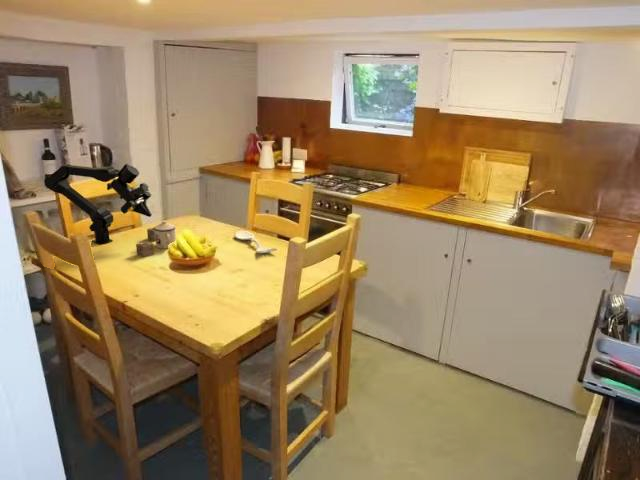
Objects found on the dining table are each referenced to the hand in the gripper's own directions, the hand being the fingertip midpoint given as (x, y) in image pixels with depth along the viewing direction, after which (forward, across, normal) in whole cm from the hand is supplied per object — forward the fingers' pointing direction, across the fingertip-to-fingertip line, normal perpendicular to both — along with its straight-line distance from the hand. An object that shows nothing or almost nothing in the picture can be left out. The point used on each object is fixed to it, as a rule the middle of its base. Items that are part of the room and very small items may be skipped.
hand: (150, 216), depth 205 cm
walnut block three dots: (+8, +9, +12) cm, 17 cm away
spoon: (+41, +11, -20) cm, 47 cm away
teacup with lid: (+14, 0, +6) cm, 15 cm away
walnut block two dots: (+11, -11, +9) cm, 18 cm away
